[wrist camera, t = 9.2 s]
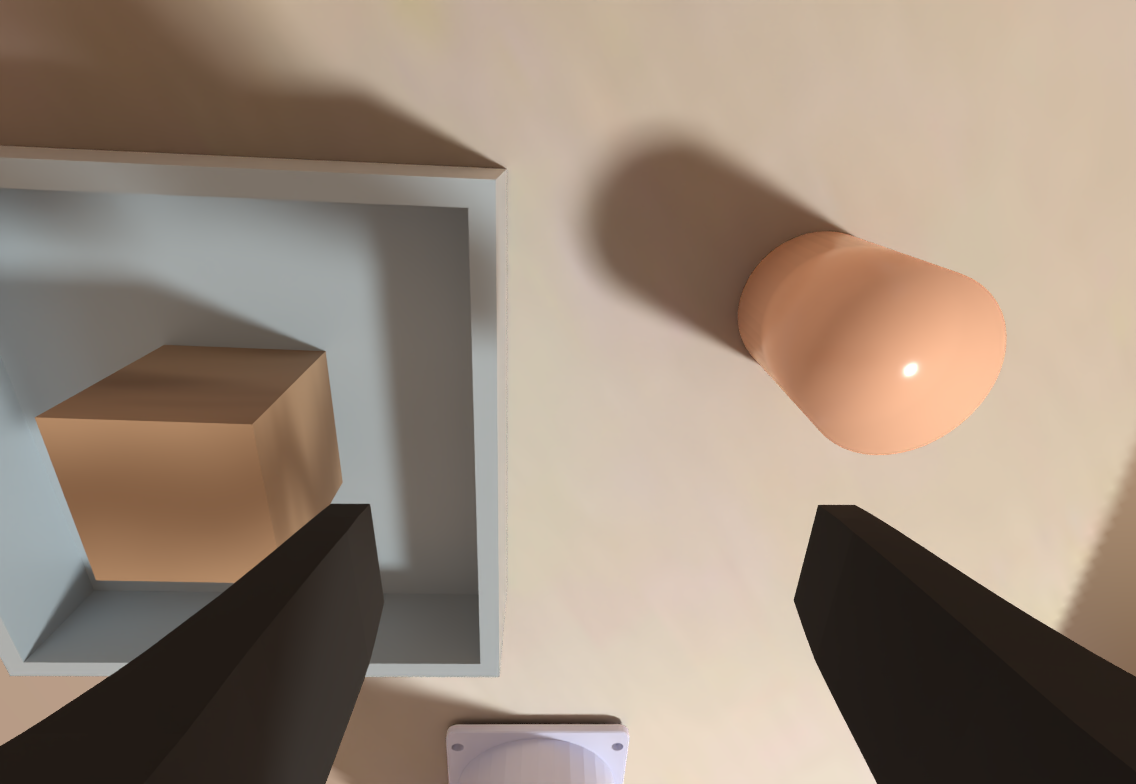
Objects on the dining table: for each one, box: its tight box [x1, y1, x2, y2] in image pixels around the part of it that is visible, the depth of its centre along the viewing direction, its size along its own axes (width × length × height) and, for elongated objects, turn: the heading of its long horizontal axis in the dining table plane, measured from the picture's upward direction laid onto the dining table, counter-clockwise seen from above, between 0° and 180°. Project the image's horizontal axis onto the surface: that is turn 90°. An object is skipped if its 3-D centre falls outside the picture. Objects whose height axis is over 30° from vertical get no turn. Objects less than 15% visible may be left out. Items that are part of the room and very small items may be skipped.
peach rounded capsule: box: [738, 231, 1007, 455], centre depth 15 cm, size 5×5×5 cm
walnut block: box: [35, 345, 343, 583], centre depth 16 cm, size 5×5×5 cm
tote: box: [0, 145, 507, 677], centre depth 17 cm, size 15×15×4 cm
